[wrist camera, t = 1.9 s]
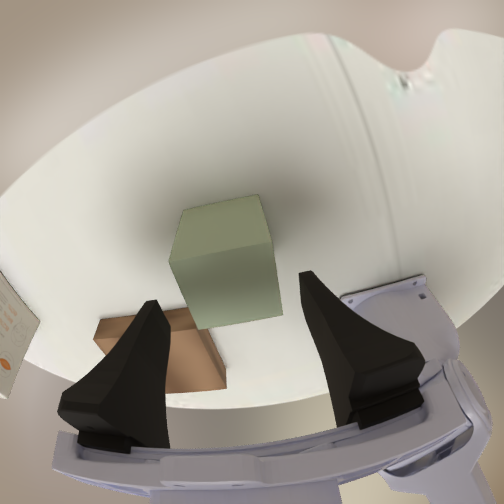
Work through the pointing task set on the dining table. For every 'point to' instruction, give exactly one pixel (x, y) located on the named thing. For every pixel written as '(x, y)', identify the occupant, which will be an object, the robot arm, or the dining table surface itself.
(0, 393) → the small box
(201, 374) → the walnut pad
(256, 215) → the sage block
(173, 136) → the dining table surface
